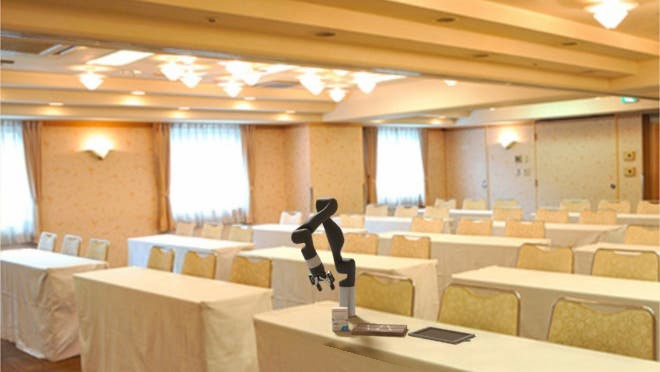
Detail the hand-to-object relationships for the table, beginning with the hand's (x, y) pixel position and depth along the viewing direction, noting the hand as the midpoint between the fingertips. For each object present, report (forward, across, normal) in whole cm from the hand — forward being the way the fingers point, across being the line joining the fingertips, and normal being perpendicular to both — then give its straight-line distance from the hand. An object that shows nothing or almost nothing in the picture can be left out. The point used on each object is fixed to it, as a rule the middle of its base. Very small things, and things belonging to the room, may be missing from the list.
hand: (327, 290), depth 343 cm
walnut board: (+29, -18, -3) cm, 35 cm away
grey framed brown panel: (+39, -50, -9) cm, 64 cm away
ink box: (+23, +1, +3) cm, 23 cm away
